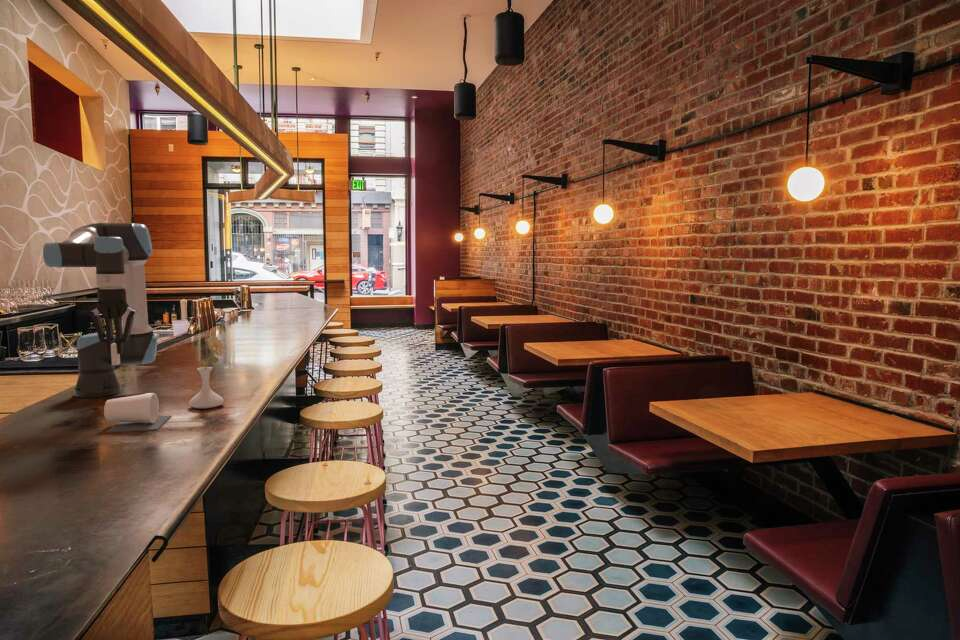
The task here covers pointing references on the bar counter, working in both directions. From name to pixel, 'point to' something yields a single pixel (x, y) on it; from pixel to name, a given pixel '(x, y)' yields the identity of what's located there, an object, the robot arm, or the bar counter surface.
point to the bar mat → (138, 425)
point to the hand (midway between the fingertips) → (116, 364)
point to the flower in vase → (206, 395)
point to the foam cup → (133, 409)
